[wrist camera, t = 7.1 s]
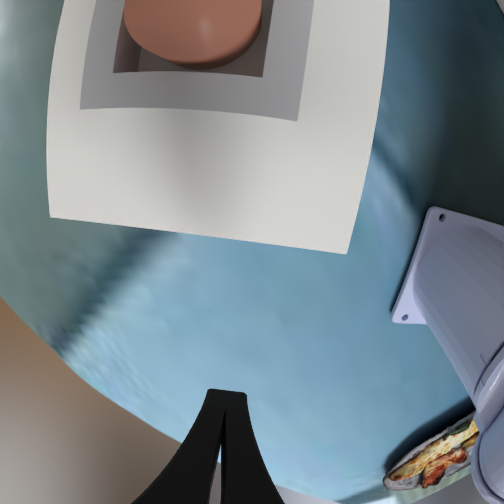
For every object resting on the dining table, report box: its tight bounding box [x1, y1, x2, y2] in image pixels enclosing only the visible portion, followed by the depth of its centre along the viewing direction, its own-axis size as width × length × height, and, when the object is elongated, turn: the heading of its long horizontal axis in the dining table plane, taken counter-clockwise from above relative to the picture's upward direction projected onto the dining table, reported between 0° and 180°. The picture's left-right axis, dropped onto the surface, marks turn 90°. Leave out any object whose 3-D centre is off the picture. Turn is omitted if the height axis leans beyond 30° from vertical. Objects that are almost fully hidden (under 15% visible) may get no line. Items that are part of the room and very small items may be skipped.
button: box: [124, 0, 262, 70], centre depth 9 cm, size 5×5×3 cm
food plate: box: [383, 410, 480, 491], centre depth 27 cm, size 25×23×4 cm
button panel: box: [47, 0, 390, 254], centre depth 10 cm, size 16×20×4 cm
